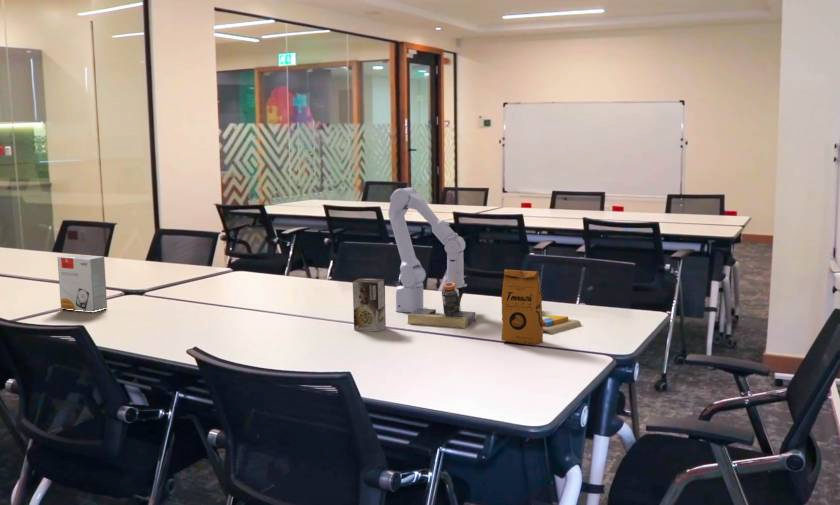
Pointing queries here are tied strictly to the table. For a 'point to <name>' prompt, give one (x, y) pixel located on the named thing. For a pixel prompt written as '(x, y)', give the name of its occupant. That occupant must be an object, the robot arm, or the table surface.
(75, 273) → the hard drive box
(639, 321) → the table surface
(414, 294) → the robot arm
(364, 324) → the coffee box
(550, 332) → the wooden puzzle
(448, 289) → the pill bottle
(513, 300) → the coffee package
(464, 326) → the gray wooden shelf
